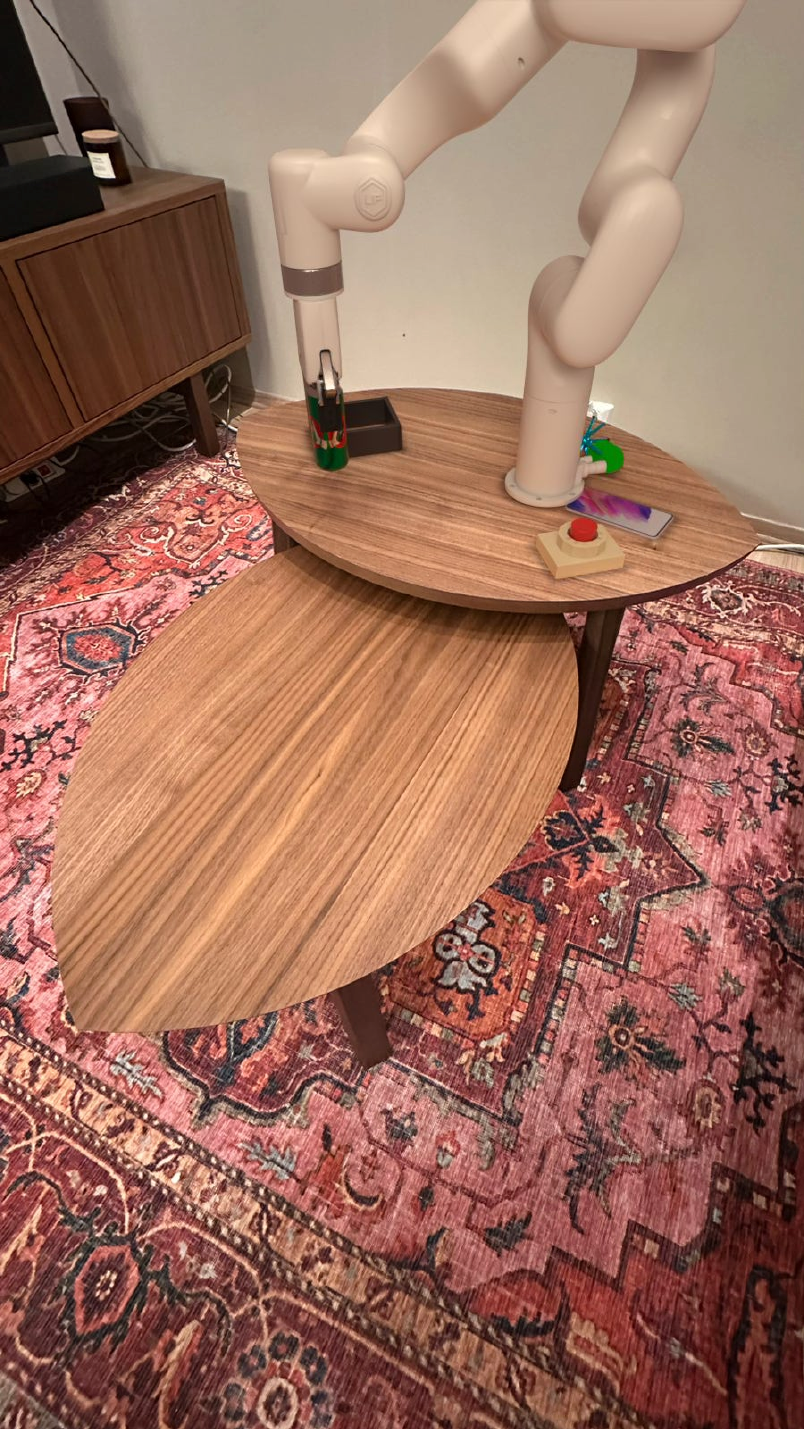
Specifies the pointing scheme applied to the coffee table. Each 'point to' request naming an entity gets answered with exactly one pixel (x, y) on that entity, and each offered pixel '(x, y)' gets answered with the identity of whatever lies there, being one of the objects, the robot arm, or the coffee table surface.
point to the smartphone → (621, 513)
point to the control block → (579, 552)
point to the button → (583, 530)
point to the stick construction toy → (602, 449)
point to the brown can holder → (372, 437)
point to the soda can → (327, 435)
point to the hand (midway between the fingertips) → (328, 420)
